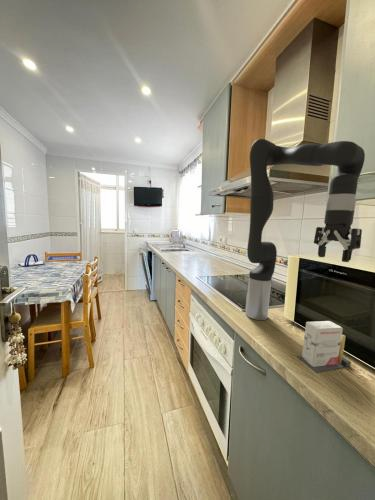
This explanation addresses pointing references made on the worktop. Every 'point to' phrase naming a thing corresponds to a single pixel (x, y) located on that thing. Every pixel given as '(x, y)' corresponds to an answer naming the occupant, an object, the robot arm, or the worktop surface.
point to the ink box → (321, 343)
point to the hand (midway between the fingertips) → (332, 259)
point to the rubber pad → (321, 368)
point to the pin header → (340, 357)
